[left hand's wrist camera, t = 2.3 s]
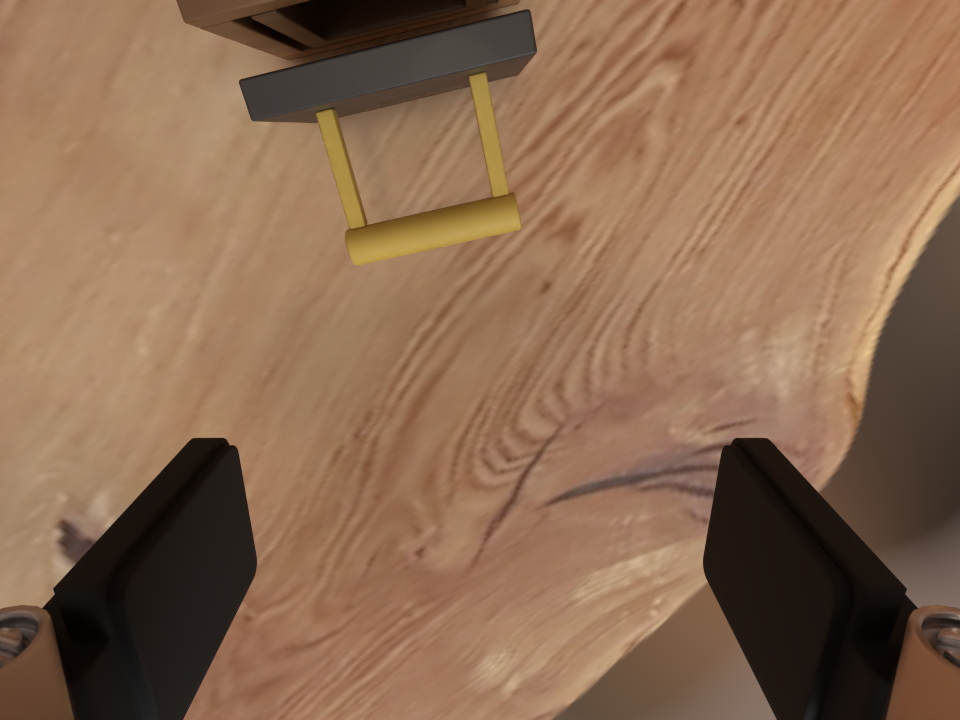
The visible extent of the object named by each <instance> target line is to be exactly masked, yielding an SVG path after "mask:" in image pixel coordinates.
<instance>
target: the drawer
mask: <svg viewBox="0 0 960 720" xmlns="http://www.w3.org/2000/svg"><path fill="white" fill-rule="evenodd" d="M483 6H485V0H309V1H306V2H302V3H298V4H294V5H290V6H286V7H282V8H278V9H274V10H270V11H266V12H262V13H258V14H254V15H251V18H252V19H254V20H256V21H258V22H260V23H262V24H264V25H266V26H268V27H270V28H272V29H274V30H276V31H278V32H280V33H282V34H285V35H287V36H289V37H291V38H293V39H295V40H297V41H299V42H301V43H303V44H305V45H307V46H309V47H311V48H317V47H321V46H325V45H329V44H333V43H337V42H341V41H345V40H349V39H354V38H358V37H362V36H366V35H370V34H374V33H378V32H382V31H386V30H390V29H394V28H398V27H402V26H406V25H410V24H414V23H418V22H422V21H427V20H431V19H435V18H439V17H443V16H447V15H451V14H455V13H459V12H463V11H467V10H471V9H475V8H479V7H483ZM536 52H537V48H536V42H535V36H534V29H533V23H532V17H531V12H530V10H528V9H526V10H522V11H518V12H514V13H510V14H506V15H502V16H498V17H494V18H490V19H485V20H481V21H477V22H473V23H469V24H465V25H461V26H457V27H453V28H449V29H445V30H441V31H436V32H432V33H428V34H424V35H420V36H416V37H412V38H408V39H404V40H400V41H396V42H391V43H387V44H383V45H379V46H375V47H371V48H367V49H363V50H359V51H355V52H351V53H347V54H342V55H338V56H334V57H330V58H326V59H322V60H318V61H314V62H310V63H306V64H302V65H298V66H293V67H289V68H285V69H281V70H277V71H273V72H269V73H265V74H261V75H257V76H253V77H249V78H244V79H241V80H240V81H239V84H240V87H241V90H242V93H243V96H244V99H245V102H246V105H247V108H248V111H249V114H250V117H251V120H252V121H264V122H300V123H319V127H320V130H321V134H322V137H323V140H324V144H325V147H326V151H327V154H328V157H329V161H330V164H331V168H332V171H333V174H334V178H335V181H336V185H337V188H338V191H339V195H340V198H341V202H342V205H343V209H344V212H345V215H346V219H347V222H348V226H349V228H350V229H348V230H346V233H345V240H346V246H347V250H348V253H349V256H350V258H351V260H352V262H353V263H354V265H361V264H366V263H370V262H375V261H379V260H384V259H389V258H393V257H398V256H402V255H407V254H412V253H416V252H421V251H425V250H430V249H434V248H439V247H444V246H448V245H453V244H457V243H462V242H466V241H471V240H476V239H480V238H485V237H489V236H494V235H498V234H503V233H508V232H512V231H517V230H520V229H521V221H520V215H519V210H518V205H517V200H516V196H515V194H514V193H509V190H508V184H507V179H506V174H505V169H504V163H503V158H502V153H501V148H500V142H499V137H498V132H497V127H496V122H495V116H494V111H493V106H492V101H491V95H490V90H489V85H488V82H491V81H495V80H499V79H504V78H508V77H512V76H516V75H518V74H519V73H520V72H521V71H522V70H523V68H524V67H525V66H526V65H527V64H528V62H529V61H530V60H531V59H532V58H533V56H534V55H535V54H536ZM466 87H471V92H472V97H473V102H474V107H475V112H476V117H477V122H478V127H479V132H480V137H481V142H482V147H483V152H484V157H485V162H486V167H487V172H488V177H489V182H490V187H491V192H492V196H493V197H491V198H486V199H482V200H477V201H473V202H468V203H464V204H459V205H455V206H450V207H446V208H441V209H437V210H433V211H428V212H424V213H419V214H415V215H410V216H406V217H401V218H397V219H392V220H388V221H383V222H379V223H374V224H370V225H367V219H366V216H365V212H364V209H363V205H362V202H361V198H360V195H359V191H358V188H357V184H356V180H355V177H354V173H353V170H352V166H351V163H350V159H349V156H348V152H347V149H346V145H345V141H344V138H343V134H342V131H341V127H340V124H339V120H338V118H339V117H343V116H348V115H352V114H356V113H360V112H364V111H369V110H373V109H377V108H381V107H385V106H390V105H394V104H398V103H402V102H407V101H411V100H415V99H419V98H423V97H428V96H432V95H436V94H440V93H444V92H449V91H453V90H457V89H461V88H466Z"/></svg>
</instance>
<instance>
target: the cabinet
mask: <svg viewBox="0 0 960 720" xmlns="http://www.w3.org/2000/svg"><path fill="white" fill-rule="evenodd" d="M306 1H309V0H177V3H178V6H179V9H180V11H181V14H182V17H183V20H184V22H185V23H187V24H190V25H193V26H195V27H198V28H200V29H203V30H206V31H208V32H211V33H214V34H217V35H219V36H222V37H225V38H228V39H231V40H233V41H236V42H239V43H242V44H244V45H247V46H250V47H253V48H255V49H258V50H261V51H264V52H267V53H269V54H272V55H275V56H278V57H281V58H284V59H286V60H291V59H295V58H299V57H304V56H308V55H312V54H316V53H320V52H324V51H328V50H332V49H336V48H340V47H344V46H348V45H352V44H356V43H360V42H365V41H369V40H373V39H377V38H381V37H385V36H389V35H393V34H397V33H401V32H405V31H409V30H413V29H417V28H422V27H426V26H430V25H434V24H438V23H442V22H446V21H450V20H454V19H458V18H462V17H466V16H470V15H474V14H479V13H483V12H487V11H491V10H495V9H499V8H503V7H507V6H511V5H515V4H518V3H519V1H520V0H485V6H483V7H479V8H475V9H471V10H467V11H463V12H459V13H455V14H451V15H447V16H443V17H439V18H435V19H431V20H427V21H422V22H418V23H414V24H410V25H406V26H402V27H398V28H394V29H390V30H386V31H382V32H378V33H374V34H370V35H366V36H362V37H358V38H354V39H349V40H345V41H341V42H337V43H333V44H329V45H325V46H321V47H317V48H311V47H309V46H307V45H305V44H303V43H301V42H299V41H297V40H295V39H293V38H291V37H289V36H287V35H285V34H282V33H280V32H278V31H276V30H274V29H272V28H270V27H268V26H266V25H264V24H262V23H260V22H258V21H256V20H254V19H252V18H251V15H254V14H258V13H262V12H266V11H270V10H274V9H278V8H282V7H286V6H290V5H294V4H298V3H302V2H306Z"/></svg>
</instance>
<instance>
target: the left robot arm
mask: <svg viewBox="0 0 960 720" xmlns="http://www.w3.org/2000/svg"><path fill="white" fill-rule="evenodd" d="M256 567H257V556H256V551H255V545H254V539H253V533H252V528H251V522H250V516H249V510H248V504H247V499H246V493H245V487H244V481H243V476H242V470H241V464H240V458H239V453H238V449H237V448H236V446H234V445H229V443H228V441H227V440H226V439H225V438H193V439H191V440H190V441H189V442H188V443H187V444H186V445H185V446H184V447H183V449H182V450H181V451H180V452H179V453H178V454H177V455H176V456H175V457H174V458H173V459H172V460H171V462H170V463H169V464H168V465H167V466H166V467H165V468H164V469H163V470H162V471H161V472H160V473H159V475H158V476H157V477H156V478H155V479H154V480H153V481H152V482H151V483H150V484H149V485H148V486H147V488H146V489H145V490H144V491H143V492H142V493H141V494H140V495H139V496H138V497H137V498H136V500H135V501H134V502H133V503H132V504H131V505H130V506H129V507H128V508H127V509H126V510H125V511H124V513H123V514H122V515H121V516H120V517H119V518H118V519H117V520H116V521H115V522H114V523H113V524H112V526H111V527H110V528H109V529H108V530H107V531H106V532H105V533H104V534H103V535H102V536H101V537H100V539H99V540H98V541H97V542H96V543H95V544H94V545H93V546H92V547H91V548H90V549H89V551H88V552H87V553H86V554H85V555H84V556H83V557H82V558H81V559H80V560H79V561H78V562H77V564H76V565H75V566H74V567H73V568H72V569H71V570H70V571H69V572H68V573H67V574H66V575H65V577H64V578H63V579H62V580H61V581H60V582H59V583H58V584H57V585H56V586H55V587H54V588H53V590H54V593H55V595H54V596H53V597H52V598H51V599H50V600H49V601H48V602H47V604H46V605H45V606H44V607H43V608H40V607H38V606H28V605H19V606H13V607H6V608H2V609H0V720H183V719H184V717H185V715H186V713H187V711H188V709H189V707H190V705H191V703H192V701H193V699H194V697H195V695H196V693H197V691H198V689H199V687H200V685H201V683H202V681H203V679H204V677H205V675H206V673H207V671H208V669H209V667H210V665H211V663H212V661H213V659H214V657H215V655H216V653H217V651H218V649H219V647H220V645H221V643H222V641H223V639H224V637H225V635H226V633H227V631H228V629H229V627H230V625H231V623H232V621H233V619H234V617H235V615H236V613H237V611H238V609H239V607H240V605H241V603H242V601H243V599H244V597H245V595H246V593H247V591H248V589H249V587H250V585H251V583H252V581H253V579H254V576H255V573H256ZM703 567H704V573H705V576H706V579H707V581H708V583H709V585H710V587H711V589H712V591H713V593H714V595H715V597H716V599H717V601H718V603H719V605H720V607H721V609H722V611H723V613H724V615H725V617H726V619H727V621H728V623H729V625H730V627H731V629H732V631H733V633H734V635H735V637H736V639H737V641H738V643H739V645H740V647H741V649H742V651H743V653H744V655H745V657H746V659H747V661H748V663H749V665H750V667H751V669H752V671H753V673H754V675H755V677H756V679H757V681H758V683H759V685H760V687H761V689H762V691H763V693H764V695H765V697H766V699H767V701H768V703H769V705H770V707H771V709H772V711H773V713H774V715H775V717H776V719H777V720H960V609H958V608H953V607H947V606H940V605H932V606H922V607H920V608H917V607H916V606H915V605H914V604H913V602H912V601H911V600H910V599H909V598H908V597H907V596H906V595H905V593H906V590H907V588H906V587H905V586H904V585H903V584H902V583H901V582H900V581H899V580H898V579H897V578H896V577H895V575H894V574H893V573H892V572H891V571H890V570H889V569H888V568H887V567H886V566H885V565H884V564H883V562H882V561H881V560H880V559H879V558H878V557H877V556H876V555H875V554H874V553H873V552H872V551H871V549H870V548H869V547H868V546H867V545H866V544H865V543H864V542H863V541H862V540H861V539H860V537H859V536H858V535H857V534H856V533H855V532H854V531H853V530H852V529H851V528H850V527H849V526H848V524H847V523H846V522H845V521H844V520H843V519H842V518H841V517H840V516H839V515H838V514H837V513H836V511H835V510H834V509H833V508H832V507H831V506H830V505H829V504H828V503H827V502H826V501H825V500H824V498H823V497H822V496H821V495H820V494H819V493H818V492H817V491H816V490H815V489H814V488H813V486H812V485H811V484H810V483H809V482H808V481H807V480H806V479H805V478H804V477H803V476H802V475H801V473H800V472H799V471H798V470H797V469H796V468H795V467H794V466H793V465H792V464H791V463H790V462H789V460H788V459H787V458H786V457H785V456H784V455H783V454H782V453H781V452H780V451H779V450H778V449H777V447H776V446H775V445H774V444H773V443H772V442H771V441H770V440H769V439H767V438H735V439H734V440H733V441H732V443H731V445H726V446H724V448H723V449H722V453H721V458H720V464H719V470H718V476H717V481H716V487H715V493H714V499H713V504H712V510H711V516H710V522H709V528H708V533H707V539H706V545H705V551H704V556H703Z"/></svg>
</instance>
